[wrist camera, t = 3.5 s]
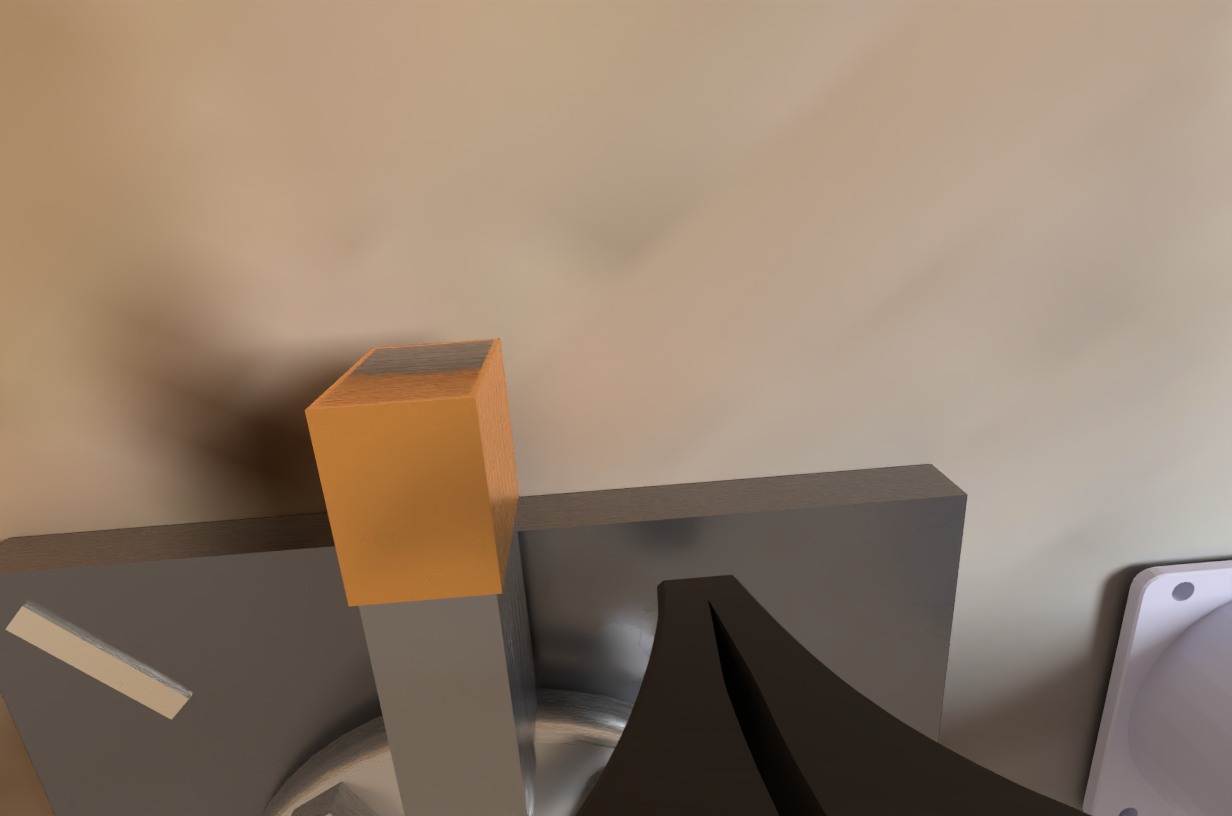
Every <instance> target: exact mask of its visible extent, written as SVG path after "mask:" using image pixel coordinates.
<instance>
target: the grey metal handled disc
mask: <svg viewBox="0 0 1232 816" xmlns="http://www.w3.org/2000/svg"><path fill="white" fill-rule="evenodd" d="M305 414H306V418H307V423H308V427H309V432H310V436H311V441H312V445H313V449H314V454H315V458H316V463H317V467H318V472H319V476H320V481H321V485H322V490H323V494H324V499H325V503H326V507H327V512H328V516H329V521H330V525H331V530H332V534H333V539H334V543H335V548H336V552H337V556H338V561H339V565H340V570H341V574H342V579H343V583H344V588H345V592H346V597H347V601H348V606H359V610H360V614H361V619H362V623H363V628H364V633H365V637H366V642H367V646H368V651H369V655H370V660H371V665H372V669H373V674H374V678H375V683H376V687H377V692H378V697H379V701H380V706H381V710H382V716H379V717H377V718H374V719H372V720H371V721H369V722H367V723H365V724H363V725H361V726H359V727H357V728H355V729H353V730H351V731H349V732H348V733H346V734H344V735H342V736H340V737H339V738H338V739H336V740H335V741H333V742H332V743H330V744H329V745H327V746H326V747H325V748H323V749H322V750H320V751H319V752H317V753H316V754H315V755H313V756H312V757H311V758H310V759H309V760H308V761H307V762H306V763H304V764H303V765H302V766H301V767H300V768H299V769H298V770H297V771H296V772H295V773H294V774H293V775H292V776H290V777H289V778H288V780H287V781H286V782H285V783H284V785H283V786H282V787H281V788H280V790H279V791H278V792H277V794H276V795H275V796H274V797H273V799H272V800H271V801H270V802H269V804H268V806H267V808H266V809H265V811H264V813H263V815H262V816H576V814H577V812H578V811H579V809H580V808H581V806H582V805H583V803H584V801H585V800H586V798H587V797H588V795H589V794H590V792H591V791H592V789H593V787H594V786H595V784H596V782H597V781H598V779H599V777H600V775H601V774H602V772H603V770H604V768H605V766H606V765H607V763H608V761H609V759H610V757H611V755H612V753H613V751H614V749H615V747H616V745H617V743H618V741H619V739H620V737H621V735H622V732H623V730H624V728H625V725H626V723H627V721H628V719H629V716H630V714H631V711H632V709H633V706H634V704H631V703H627V702H624V701H621V700H617V699H614V698H611V697H606V696H600V695H594V694H589V693H583V692H578V691H572V690H560V689H546V688H537V686H536V678H535V670H534V661H533V653H532V645H531V637H530V629H529V621H528V613H527V605H526V597H525V588H524V580H523V572H522V564H521V556H520V548H519V540H518V532H517V524H516V509H517V503H518V497H519V490H518V482H517V473H516V465H515V457H514V448H513V440H512V432H511V423H510V415H509V407H508V398H507V390H506V382H505V373H504V365H503V357H502V348H501V340H500V339H489V340H475V341H461V342H448V343H434V344H420V345H406V346H393V347H379V348H372V349H371V350H370V351H369V352H367V353H366V354H365V355H364V356H363V357H362V358H361V359H360V360H359V361H358V362H357V363H356V364H354V365H353V366H352V367H351V368H350V369H349V370H348V371H347V372H346V373H345V374H344V375H343V376H341V377H340V378H339V379H338V380H337V381H336V382H335V383H334V384H333V385H332V386H331V387H329V388H328V389H327V390H326V391H325V392H324V393H323V394H322V395H321V396H320V397H319V398H318V399H316V400H315V401H314V402H313V403H312V404H311V405H310V406H309V407H308V408H307V409H306V410H305Z"/></svg>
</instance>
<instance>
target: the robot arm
mask: <svg viewBox="0 0 1232 816" xmlns="http://www.w3.org/2000/svg"><path fill="white" fill-rule="evenodd" d="M1178 584H1179V585H1178ZM1177 585H1178V586H1177ZM1176 586H1177V587H1176ZM1175 587H1176V588H1175ZM1174 588H1175V589H1174ZM657 600H658V619H657V626H656V631H655V636H654V641H653V645H652V650H651V654H650V658H649V662H648V665H647V668H646V671H645V674H644V678H643V681H642V684H641V687H640V690H639V693H638V696H637V698H636V701H635V704H634V706H633V709H632V711H631V714H630V716H629V719H628V721H627V723H626V725H625V728H624V730H623V732H622V735H621V737H620V739H619V741H618V743H617V745H616V747H615V749H614V751H613V753H612V755H611V757H610V759H609V761H608V763H607V765H606V766H605V768H604V770H603V772H602V774H601V775H600V777H599V779H598V781H597V782H596V784H595V786H594V787H593V789H592V791H591V792H590V794H589V795H588V797H587V798H586V800H585V801H584V803H583V805H582V806H581V808H580V809H579V811H578V812H577V814H576V816H1232V560H1227V561H1215V562H1203V563H1192V564H1180V565H1168V566H1157V567H1152V568H1148V569H1145V570H1143V571H1142V572H1140V573H1138V575H1137V576H1136V577H1135V578H1134V579H1133V581H1132V584H1131V586H1130V590H1129V595H1128V599H1127V604H1126V609H1125V613H1124V618H1123V622H1122V627H1121V632H1120V636H1119V641H1118V646H1117V650H1116V655H1115V659H1114V664H1113V669H1112V673H1111V678H1110V682H1109V687H1108V692H1107V696H1106V701H1105V706H1104V710H1103V715H1102V719H1101V724H1100V729H1099V733H1098V738H1097V742H1096V747H1095V752H1094V756H1093V761H1092V765H1091V770H1090V775H1089V779H1088V784H1087V789H1086V793H1085V798H1084V802H1083V807H1082V808H1083V812H1082V811H1080V810H1077V809H1075V808H1073V807H1070V806H1068V805H1065V804H1063V803H1061V802H1058V801H1056V800H1053V799H1051V798H1048V797H1046V796H1044V795H1041V794H1039V793H1036V792H1034V791H1032V790H1029V789H1027V788H1025V787H1023V786H1021V785H1018V784H1016V783H1014V782H1012V781H1010V780H1008V779H1006V778H1004V777H1002V776H1000V775H998V774H996V773H994V772H992V771H990V770H988V769H986V768H984V767H982V766H980V765H977V764H976V763H974V762H972V761H970V760H968V759H966V758H964V757H962V756H961V755H959V754H957V753H955V752H953V751H951V750H949V749H948V748H946V747H944V746H942V745H941V744H939V743H937V742H936V741H934V740H932V739H930V738H929V737H927V736H925V735H924V734H922V733H920V732H919V731H917V730H915V729H913V728H912V727H910V726H908V725H907V724H905V723H904V722H902V721H901V720H899V719H897V718H896V717H894V716H893V715H891V714H890V713H888V712H887V711H885V710H884V709H882V708H881V707H880V706H878V705H877V704H875V703H874V702H872V701H871V700H870V699H868V698H867V697H865V696H864V695H862V694H861V693H860V692H858V691H857V690H855V689H854V688H853V687H851V686H850V685H849V684H847V683H846V682H845V681H843V680H842V679H841V678H840V677H838V676H837V675H836V674H835V673H834V672H832V671H831V670H830V669H829V668H828V667H826V666H825V665H824V664H823V663H822V662H821V661H819V660H818V659H817V658H816V657H815V656H814V655H813V654H811V653H810V652H809V651H808V650H807V649H806V648H805V647H804V646H803V645H802V644H801V643H799V642H798V641H797V640H796V639H795V638H794V637H793V636H792V635H791V634H790V633H789V632H788V631H787V630H786V629H785V628H784V627H783V626H782V625H781V624H780V623H779V622H778V621H776V620H775V619H774V618H773V616H772V615H771V614H770V613H769V612H768V611H767V610H766V609H765V608H764V607H763V606H762V605H761V604H760V603H759V602H758V601H757V600H756V599H755V598H754V597H753V596H752V594H751V593H750V592H749V591H748V590H747V589H746V588H745V587H744V586H743V585H742V584H741V582H740V581H739V580H738V579H737V578H735V577H734V576H733V575H722V576H710V577H698V578H686V579H674V580H663V581H662V582H661V583H660V584H659V585H658V586H657Z"/></svg>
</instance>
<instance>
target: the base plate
mask: <svg viewBox="0 0 1232 816" xmlns="http://www.w3.org/2000/svg"><path fill="white" fill-rule="evenodd" d="M966 502H967V494H966V493H965V492H964V491H963V490H961V489H960V488H959V487H958V486H957V485H955V484H954V483H953V482H952V481H951V480H950V479H948V478H947V477H946V476H945V475H944V474H943V473H941V472H940V471H939V470H938V469H937V468H935V467H934V466H933V465H932V464H930V465H917V466H905V467H892V468H880V469H867V470H855V471H842V472H830V473H817V474H805V475H792V476H780V477H767V478H755V479H742V480H730V481H717V482H705V483H692V484H680V485H667V486H655V487H642V488H630V489H617V490H605V491H592V492H580V493H567V494H555V495H542V496H530V497H518V503H517V509H516V524H517V532H518V540H519V548H520V556H521V564H522V572H523V580H524V588H525V597H526V605H527V613H528V621H529V629H530V637H531V645H532V653H533V661H534V670H535V678H536V686H537V688H546V689H560V690H572V691H578V692H583V693H589V694H594V695H600V696H606V697H611V698H614V699H617V700H621V701H624V702H627V703H631V704H635V701H636V698H637V696H638V693H639V690H640V687H641V684H642V681H643V678H644V674H645V671H646V668H647V665H648V662H649V658H650V654H651V650H652V645H653V641H654V636H655V631H656V626H657V619H658V600H657V586H658V585H659V584H660V583H661V582H662V581H663V580H674V579H686V578H698V577H710V576H722V575H733V576H734V577H735V578H737V579H738V580H739V581H740V582H741V584H742V585H743V586H744V587H745V588H746V589H747V590H748V591H749V592H750V593H751V594H752V596H753V597H754V598H755V599H756V600H757V601H758V602H759V603H760V604H761V605H762V606H763V607H764V608H765V609H766V610H767V611H768V612H769V613H770V614H771V615H772V616H773V618H774V619H775V620H776V621H778V622H779V623H780V624H781V625H782V626H783V627H784V628H785V629H786V630H787V631H788V632H789V633H790V634H791V635H792V636H793V637H794V638H795V639H796V640H797V641H798V642H799V643H801V644H802V645H803V646H804V647H805V648H806V649H807V650H808V651H809V652H810V653H811V654H813V655H814V656H815V657H816V658H817V659H818V660H819V661H821V662H822V663H823V664H824V665H825V666H826V667H828V668H829V669H830V670H831V671H832V672H834V673H835V674H836V675H837V676H838V677H840V678H841V679H842V680H843V681H845V682H846V683H847V684H849V685H850V686H851V687H853V688H854V689H855V690H857V691H858V692H860V693H861V694H862V695H864V696H865V697H867V698H868V699H870V700H871V701H872V702H874V703H875V704H877V705H878V706H880V707H881V708H882V709H884V710H885V711H887V712H888V713H890V714H891V715H893V716H894V717H896V718H897V719H899V720H901V721H902V722H904V723H905V724H907V725H908V726H910V727H912V728H913V729H915V730H917V731H919V732H920V733H922V734H924V735H925V736H927V737H929V738H930V739H932V740H934V741H936V742H937V743H938V737H939V729H940V720H941V712H942V704H943V695H944V687H945V678H946V670H947V662H948V653H949V645H950V636H951V628H952V620H953V611H954V603H955V595H956V586H957V578H958V569H959V561H960V553H961V544H962V536H963V527H964V519H965V511H966ZM0 691H1V694H2V696H3V698H4V700H5V703H6V705H7V707H8V709H9V712H10V714H11V716H12V718H13V721H14V723H15V725H16V727H17V730H18V732H19V734H20V737H21V739H22V741H23V743H24V746H25V748H26V750H27V752H28V755H29V757H30V759H31V761H32V764H33V766H34V768H35V770H36V773H37V775H38V777H39V779H40V782H41V784H42V786H43V788H44V791H45V793H46V795H47V797H48V800H49V802H50V804H51V806H52V809H53V811H54V813H55V815H56V816H262V815H263V813H264V811H265V809H266V808H267V806H268V804H269V802H270V801H271V800H272V799H273V797H274V796H275V795H276V794H277V792H278V791H279V790H280V788H281V787H282V786H283V785H284V783H285V782H286V781H287V780H288V778H289V777H290V776H292V775H293V774H294V773H295V772H296V771H297V770H298V769H299V768H300V767H301V766H302V765H303V764H304V763H306V762H307V761H308V760H309V759H310V758H311V757H312V756H313V755H315V754H316V753H317V752H319V751H320V750H322V749H323V748H325V747H326V746H327V745H329V744H330V743H332V742H333V741H335V740H336V739H338V738H339V737H340V736H342V735H344V734H346V733H348V732H349V731H351V730H353V729H355V728H357V727H359V726H361V725H363V724H365V723H367V722H369V721H371V720H372V719H374V718H377V717H379V716H382V710H381V706H380V701H379V697H378V692H377V687H376V683H375V678H374V674H373V669H372V665H371V660H370V655H369V651H368V646H367V642H366V637H365V633H364V628H363V623H362V619H361V614H360V610H359V606H348V601H347V597H346V592H345V588H344V583H343V579H342V574H341V570H340V565H339V561H338V556H337V552H336V548H335V543H334V539H333V534H332V530H331V525H330V521H329V516H328V513H317V514H305V515H292V516H280V517H267V518H255V519H242V520H230V521H217V522H205V523H192V524H180V525H167V526H155V527H142V528H130V529H117V530H105V531H92V532H80V533H67V534H55V535H42V536H30V537H17V538H9V539H7V540H6V541H4V542H3V543H1V544H0Z"/></svg>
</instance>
